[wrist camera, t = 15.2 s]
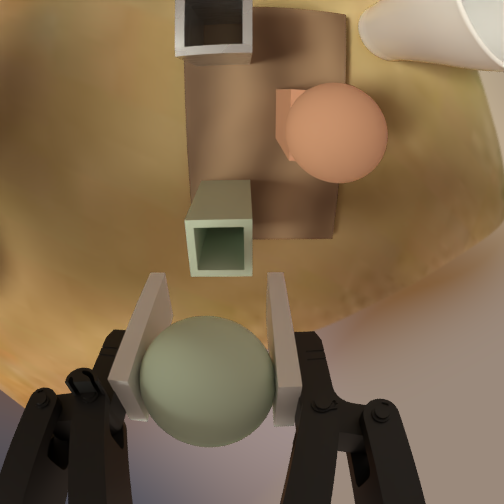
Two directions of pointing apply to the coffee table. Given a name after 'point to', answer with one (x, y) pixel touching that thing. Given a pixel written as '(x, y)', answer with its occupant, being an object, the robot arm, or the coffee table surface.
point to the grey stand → (208, 13)
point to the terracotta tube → (284, 115)
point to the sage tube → (220, 229)
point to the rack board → (265, 117)
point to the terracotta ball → (336, 132)
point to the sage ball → (207, 381)
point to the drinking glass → (437, 32)
